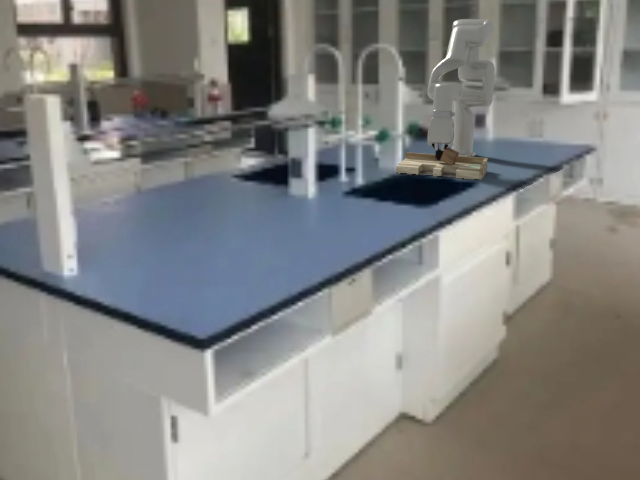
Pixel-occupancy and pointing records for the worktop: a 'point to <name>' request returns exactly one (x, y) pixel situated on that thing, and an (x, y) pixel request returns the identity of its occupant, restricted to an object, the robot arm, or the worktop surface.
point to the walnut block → (449, 156)
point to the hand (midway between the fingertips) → (439, 159)
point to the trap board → (443, 166)
